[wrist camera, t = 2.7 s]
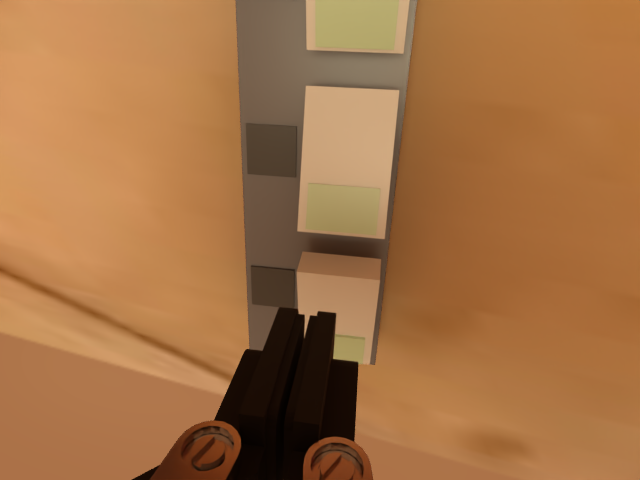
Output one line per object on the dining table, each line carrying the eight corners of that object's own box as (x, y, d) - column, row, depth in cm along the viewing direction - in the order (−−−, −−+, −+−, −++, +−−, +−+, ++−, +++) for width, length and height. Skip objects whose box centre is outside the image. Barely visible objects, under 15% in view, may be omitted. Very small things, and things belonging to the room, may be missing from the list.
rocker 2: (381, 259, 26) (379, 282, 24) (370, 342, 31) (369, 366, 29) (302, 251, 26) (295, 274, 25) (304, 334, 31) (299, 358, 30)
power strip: (454, -369, 19) (474, -490, 15) (376, 333, 36) (374, 371, 31) (247, -353, 20) (211, -462, 16) (262, 320, 37) (246, 354, 32)
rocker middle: (397, 96, 24) (399, 89, 22) (383, 233, 25) (384, 239, 23) (311, 91, 24) (305, 84, 22) (303, 226, 26) (296, 231, 24)
